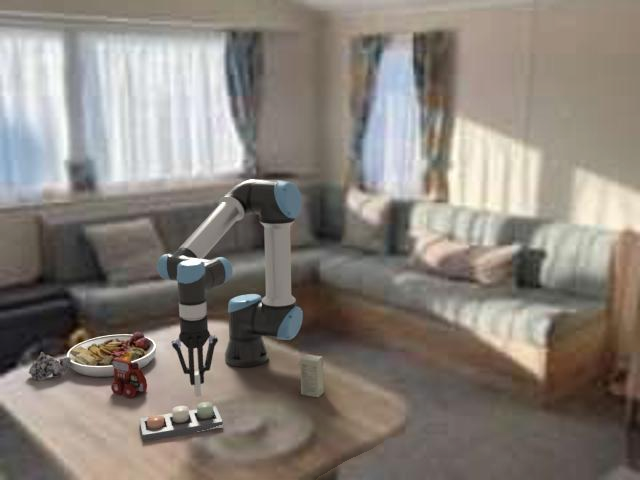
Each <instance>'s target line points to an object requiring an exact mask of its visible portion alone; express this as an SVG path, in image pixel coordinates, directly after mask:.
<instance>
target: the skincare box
mask: <svg viewBox="0 0 640 480" xmlns="http://www.w3.org/2000/svg"><path fill="white" fill-rule="evenodd" d="M299 367H300V368H299V369H300V393H301V395H303V396H307V397H313V398H320V397H321V396H322V395H323V393H324V392H325V386H324V382H325V381H324V358H323V356H321V355H316V354H308V353H305V354H303V356H301V357H300V358H299Z"/></svg>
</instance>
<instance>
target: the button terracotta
mask: <svg viewBox="0 0 640 480" xmlns="http://www.w3.org/2000/svg"><path fill="white" fill-rule="evenodd" d="M161 415H162V414H154V415H151V416H148V417H149V418H148V419H147V427H146V429H147V430H152V429H158V428H164V427H165V424H164V417H163V416H161Z"/></svg>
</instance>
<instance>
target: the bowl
mask: <svg viewBox="0 0 640 480" xmlns="http://www.w3.org/2000/svg"><path fill="white" fill-rule="evenodd" d="M156 353H157V345H156V342H155V341H154V340H153V339H151V338H150V337H147V336H145V335H144V333H143V332H142V331H136V332H134V333H133V334H126V333H125V334H124V333H123V334H110V335H103V336H97V337H94V338H90V339H87V340H85V341H82V342H80V343H77V344H75V345H74V346H73V347H71V348H70V349H69V350H68V351H67V354H66V357H70V358H71V361H70V363H69V368H71V369H72V370H73V371H74V372H76V373H78V374H80V375H83V376H87V377H97V378H106V377H108V378H110V377H114V368H113V363H112V362H113V360H115V359H121V360H126V361H130V362H132V363H134V362H137V363H138V365H139V367H138V368H141V369H142V368H143V367H145V366H147V365H148V364H150V363H151V361H152V360H153V359H154V357H155V356H156Z"/></svg>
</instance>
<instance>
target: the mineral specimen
mask: <svg viewBox="0 0 640 480" xmlns="http://www.w3.org/2000/svg"><path fill="white" fill-rule="evenodd" d="M70 361H71V358H70V357H67V356H66V357H63V358H59V360H57V359H56V360H55V358H54V356H50V355H49V354H45V352H43V351H41V352H40V354H39V356H38V357H37V360H33V362H32V365H31V366H30V368H29V370H28V374H29V375H30V377H31V378H32V379H34V381H35V380H36V381H39V382H40V381H42V382H43V381H46V380H47V379H48V378H49V377H50V376H51V377H53V378H56V377H57V378H59V377H60V378H61V377H62V376H63V374H64V373H66V372H67V371H68V369H69V368H70V366H69V363H70Z"/></svg>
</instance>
